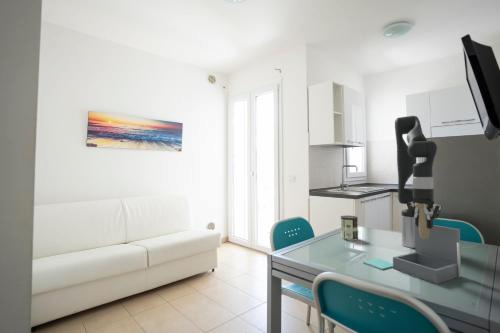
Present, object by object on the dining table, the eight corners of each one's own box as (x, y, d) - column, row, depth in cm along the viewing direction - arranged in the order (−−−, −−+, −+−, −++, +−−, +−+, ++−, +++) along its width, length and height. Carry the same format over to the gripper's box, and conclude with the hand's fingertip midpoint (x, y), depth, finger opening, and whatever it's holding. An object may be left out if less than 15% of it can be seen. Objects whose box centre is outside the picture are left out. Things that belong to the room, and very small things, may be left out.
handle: (414, 236, 115) (413, 202, 115) (432, 237, 112) (431, 203, 112) (416, 238, 111) (415, 203, 111) (434, 240, 108) (433, 204, 108)
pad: (377, 259, 127) (377, 258, 127) (396, 266, 118) (396, 264, 118) (363, 262, 123) (363, 261, 123) (382, 270, 114) (381, 268, 114)
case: (417, 262, 123) (415, 222, 123) (463, 276, 106) (462, 229, 106) (393, 268, 116) (392, 225, 116) (439, 284, 99) (437, 234, 99)
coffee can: (354, 236, 173) (353, 215, 173) (360, 240, 163) (360, 218, 163) (338, 236, 173) (338, 215, 174) (344, 240, 163) (343, 218, 163)
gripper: (446, 187, 107) (447, 229, 107) (412, 186, 120) (413, 223, 120) (435, 188, 104) (436, 231, 103) (401, 187, 116) (402, 225, 116)
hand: (423, 227), depth 112 cm, fingers closed on handle, 4 cm apart
